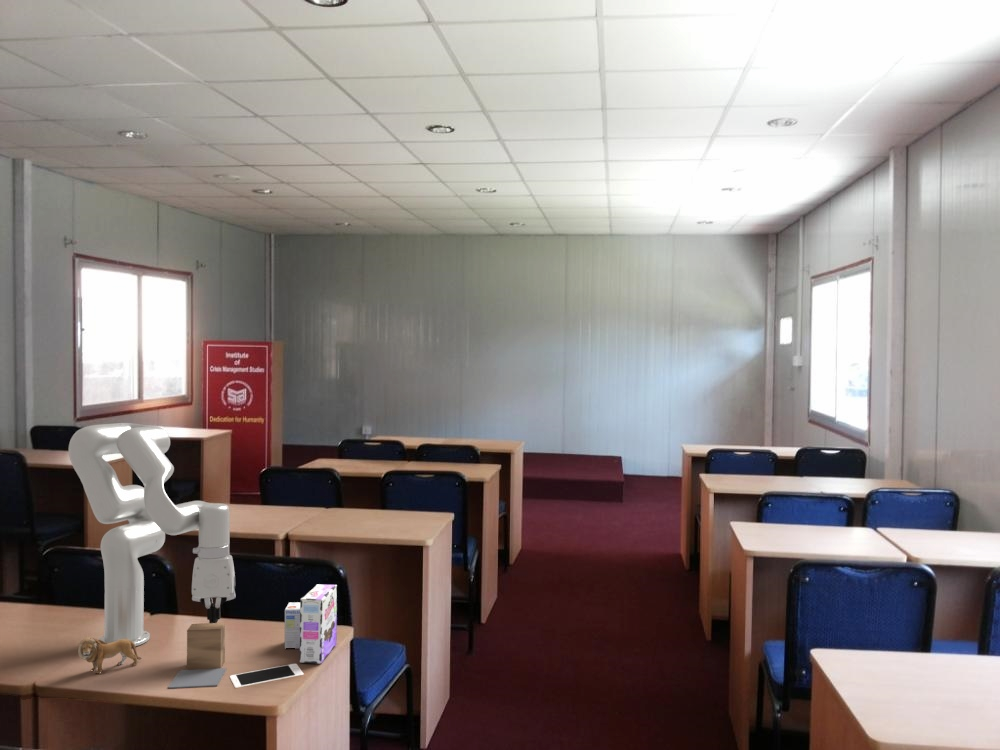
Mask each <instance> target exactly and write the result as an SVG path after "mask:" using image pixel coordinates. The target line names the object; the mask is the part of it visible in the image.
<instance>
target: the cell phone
mask: <svg viewBox="0 0 1000 750" xmlns="http://www.w3.org/2000/svg"><path fill="white" fill-rule="evenodd" d="M301 676H304V672H303V670H301V668H300V666H299V665H298V664H297V663H290V664H285V665H281V666H280V665H278V666H275V667H269V668H263V669H259V670H252V671H248V672H242V673H238V674H237V673H236V674H232V675H231V674H230V676H229V679H230V680H231V682H232V685H233V687H234V688H235V689H239V688H244V687H250V686H255V685H261V684H265V683H271V682H276V681H282V680H286V679H291V678H296V677H301Z"/></svg>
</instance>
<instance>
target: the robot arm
mask: <svg viewBox="0 0 1000 750" xmlns="http://www.w3.org/2000/svg"><path fill="white" fill-rule="evenodd" d="M170 446H171V438H170V436H169V434H168V432H167V431H166V430H165V429H164V428H162V427H160V426H157V425H149V424H142V423H140V424H139V423H131V422H120V423H119V422H117V423H103V424H92V425H88V426H85V427H84V426H83V427H81V428H80V429H78V430H76V431H75V433H74V434H73V435H72V436H71V438H70V441H69V444H68V458H69V460H70V463H71V466H72V467H73V469H74V471H75V472H76V474H77V476H78V478H79V479H80V482H81V484H82V486H83V490H84V492H85V495H86V497H87V500H88V502H89V505H90V508H91V510H92V513H93V515H94V517H95V519H96V520H97V522H99V523H100V524H104V525H110V524H116V523H120V522H125V521H127V522H128V523H126V524H123V525H118V526H116V527H114V528H111V529H109V530H108V531H107V532H105V533H104V535H103V536H102V538H101V541H100V552H101V553H100V554H101V558H102V561H103V569H104V570H103V571H104V632H103V633H104V635H103V636H101V637H99V639H98V640H102V641H103V642H105V643H112V642H115V641H118V640H121V639H128V640H131V641H132V642H133V643H134V645H135V647H138V646H140V645H143V644H145V643H146V642H148V641H149V640H150V638H151V637H150V636H151V635H150V634H151V633H150V632H148V631H147V630H144V624H145V623H144V621H145V618H144V613H145V612H144V609H145V607H144V602H145V598H144V597H145V596H144V595H145V591H144V588H145V587H144V586H145V580H144V579H145V578H144V577H145V576H144V571H143V568H142V565H141V564H140V562H139V560H138V558H140V557H144V556H148V555H149V554H153V553H155V552H157V551H159V550H160V549H161V548H162V547H163V546H164V543H165V542H166V535H170V536H177V535H181V534H184V533H188V532H192V531H196V530H198V546H197V547H193V548H192V553H193V554H196V555H197V557H195V559H194V563H193V569H192V577H191V578H192V580H191V595H192V597H191V600H192V602H198V603H199V602H200V603H201V604H202V605H203V606H205V608H206V609H207V612H206V619H207V621H208V623H218V621H219V620H221V608H222V605H224V603H226V602H227V601H228V602H229V601H231V600H234V599H236V590H235V589H236V575H235V574H236V572H235V566H234V560H233V559H234V558H233V556H232V555H231V554H230V543H231V542H230V538H231V537H230V535H231V534H230V532H231V530H230V527H231V526H230V523H231V522H230V521H231V516H230V515H231V514H230V512H231V511H230V507H229V505H227V504H225V503H221V502H220V503H211V502H206V501H203V500H192V501H191V500H190V501H188V502H187V501H186V502H183V503H178V504H175V503H174V502H173V501H172V500H171V498H169V496H168V493H166V490H165V486H164V484H165V483H166V482H167V481H168V480H169V479H170V478H171V476H173V473H174V472H175V467H174V465H173V464H172V463H171V461H170V460H169V458H168V457H167V456H166V455H165V453H167V452H168V451H169V449H170ZM114 454H115V455H116V454H120V455H121V456H122V458H123V459H124V460H125V462H126V463H127V465H128V466H129V467H130V468H131V469H132V471H133V472H134V473H135V474H136V476H137V478H139V480H140V481H141V482H142V484H143V486H144V487H143V486H141V485H138V484H129V485H122V484H121V482H120V481H119V478H118V475H117V472H116V471H115V469H114V468H113V466H112V465H111V464H110V463H109V462H108V461H106V459H104V458H103V456H107V455H114ZM214 598H215V604H214V602H213V599H214ZM131 648H132V646H131Z"/></svg>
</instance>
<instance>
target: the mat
mask: <svg viewBox="0 0 1000 750" xmlns="http://www.w3.org/2000/svg"><path fill="white" fill-rule="evenodd" d="M226 671H227V667H222V668H216V669H195V670H187V669H180V670H179V671H178V672H177V674H176V675H175V676H174V678H172V679H173V680H172V681H171V682H170V684H169V685H168V686H167V689H169V688H170V689H187V688H189V689H190V688H204V687H205V688H207V687H218V686H219V684H220V682H221V680H222V679H223V676H224V674H225V673H226ZM170 689H169V690H170Z"/></svg>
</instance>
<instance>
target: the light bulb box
mask: <svg viewBox="0 0 1000 750" xmlns="http://www.w3.org/2000/svg"><path fill="white" fill-rule="evenodd" d="M286 648H295V649H300V602H298V601H297V602H295V601H294V602H289V601H288V604H287V606H286V607H285V609H284V650H287V649H286Z"/></svg>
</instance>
